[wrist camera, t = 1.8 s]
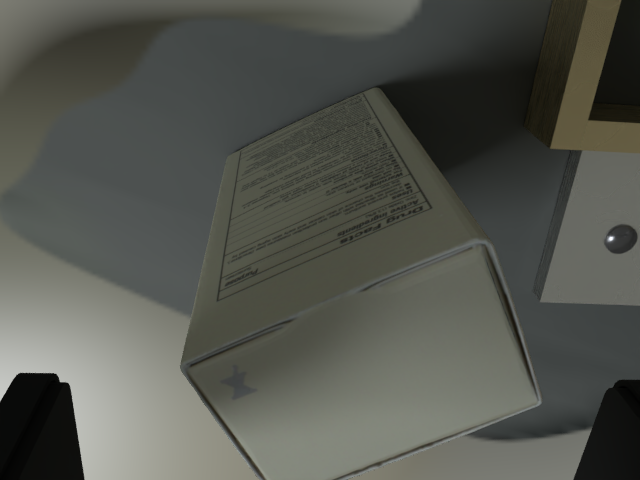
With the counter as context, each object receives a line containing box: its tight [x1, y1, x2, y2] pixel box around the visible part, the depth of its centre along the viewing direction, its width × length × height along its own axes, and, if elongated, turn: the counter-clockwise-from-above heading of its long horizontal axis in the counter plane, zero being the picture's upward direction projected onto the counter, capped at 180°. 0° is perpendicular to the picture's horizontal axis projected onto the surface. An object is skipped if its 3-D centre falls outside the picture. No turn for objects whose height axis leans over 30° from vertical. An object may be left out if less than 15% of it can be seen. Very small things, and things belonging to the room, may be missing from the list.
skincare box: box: [180, 87, 542, 480], centre depth 17 cm, size 6×4×12 cm
